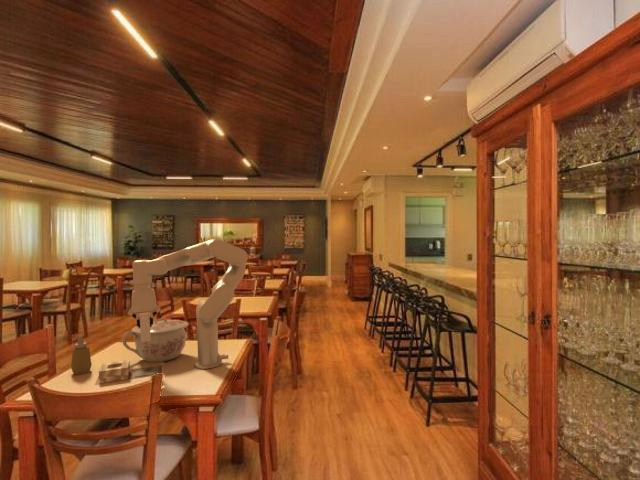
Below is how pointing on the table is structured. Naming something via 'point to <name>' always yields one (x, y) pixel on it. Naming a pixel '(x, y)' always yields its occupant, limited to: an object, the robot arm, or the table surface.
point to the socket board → (123, 372)
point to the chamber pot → (159, 340)
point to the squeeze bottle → (81, 358)
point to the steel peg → (145, 327)
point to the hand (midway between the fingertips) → (145, 326)
